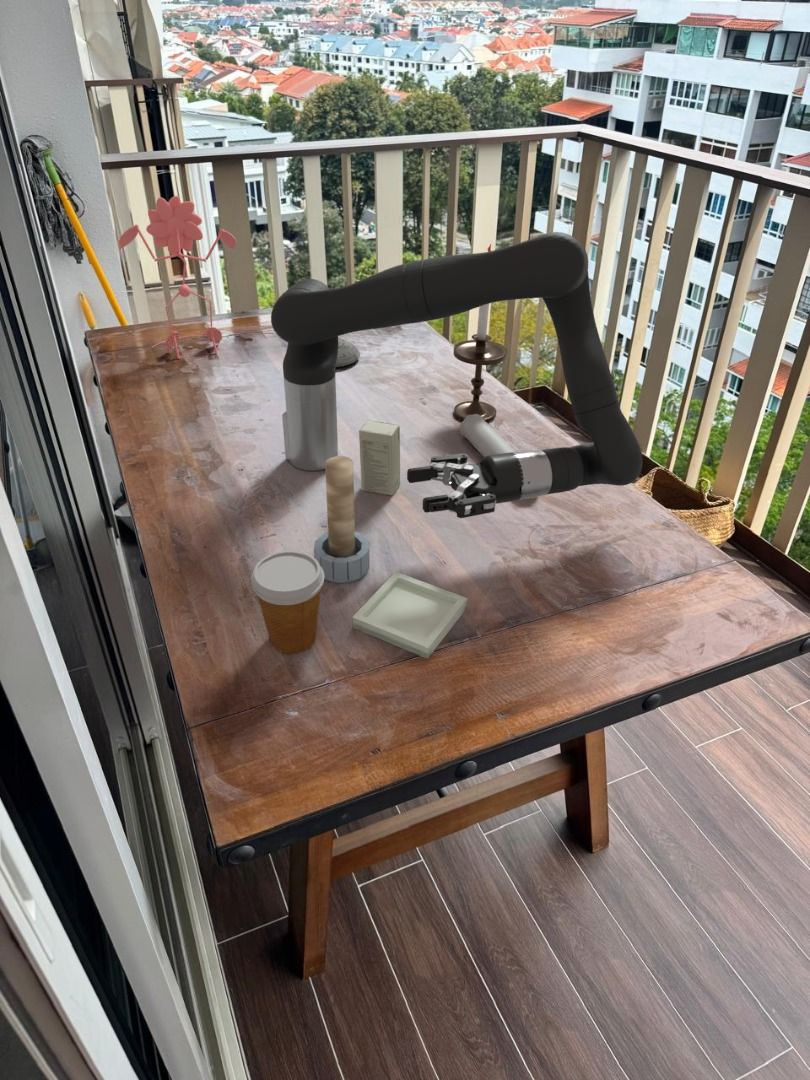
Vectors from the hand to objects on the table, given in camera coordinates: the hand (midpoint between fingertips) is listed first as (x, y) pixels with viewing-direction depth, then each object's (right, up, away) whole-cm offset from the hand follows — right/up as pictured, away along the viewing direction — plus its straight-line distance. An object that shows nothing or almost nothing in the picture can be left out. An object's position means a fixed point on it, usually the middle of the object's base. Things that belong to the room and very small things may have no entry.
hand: (415, 490), depth 113 cm
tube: (+17, +7, +32) cm, 36 cm away
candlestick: (+13, +19, +49) cm, 54 cm away
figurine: (-55, +41, +75) cm, 102 cm away
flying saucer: (-20, +36, +71) cm, 82 cm away
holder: (-11, -12, +5) cm, 17 cm away
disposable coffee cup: (-17, -21, -8) cm, 28 cm away
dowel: (-11, -11, +4) cm, 16 cm away
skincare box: (-6, +2, +24) cm, 25 cm away
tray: (-1, -19, -5) cm, 19 cm away
